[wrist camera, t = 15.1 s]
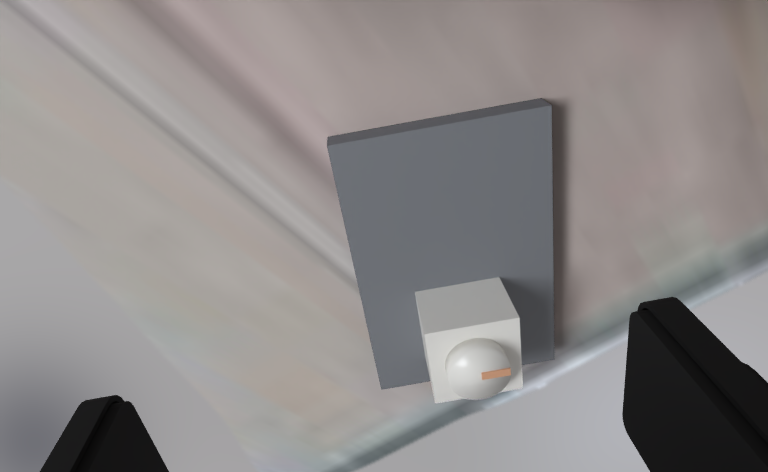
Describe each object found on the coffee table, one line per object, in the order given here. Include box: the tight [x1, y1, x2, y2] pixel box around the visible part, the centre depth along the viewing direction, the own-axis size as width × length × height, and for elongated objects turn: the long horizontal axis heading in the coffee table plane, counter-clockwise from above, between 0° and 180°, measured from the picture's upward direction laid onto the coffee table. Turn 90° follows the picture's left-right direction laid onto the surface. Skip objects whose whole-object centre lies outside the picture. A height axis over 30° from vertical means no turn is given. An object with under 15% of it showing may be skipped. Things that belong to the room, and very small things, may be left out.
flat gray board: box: [327, 98, 554, 390], centre depth 39 cm, size 15×22×6 cm
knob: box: [415, 277, 523, 404], centre depth 39 cm, size 7×7×7 cm
